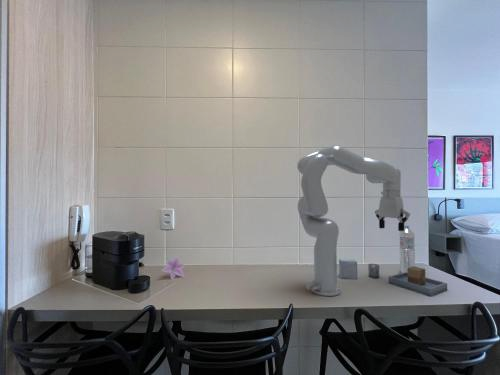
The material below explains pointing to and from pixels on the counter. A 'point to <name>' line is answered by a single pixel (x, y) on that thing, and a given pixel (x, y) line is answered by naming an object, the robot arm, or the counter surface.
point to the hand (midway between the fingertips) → (391, 229)
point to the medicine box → (348, 268)
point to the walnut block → (416, 275)
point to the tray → (428, 289)
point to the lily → (174, 267)
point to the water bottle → (406, 249)
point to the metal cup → (373, 271)
